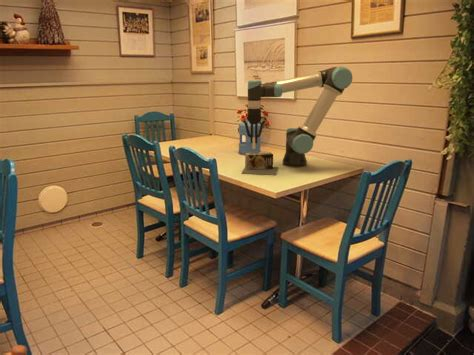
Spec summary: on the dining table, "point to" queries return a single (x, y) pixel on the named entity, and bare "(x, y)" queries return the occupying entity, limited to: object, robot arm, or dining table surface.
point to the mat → (261, 171)
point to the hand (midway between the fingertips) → (254, 148)
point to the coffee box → (258, 161)
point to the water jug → (248, 139)
